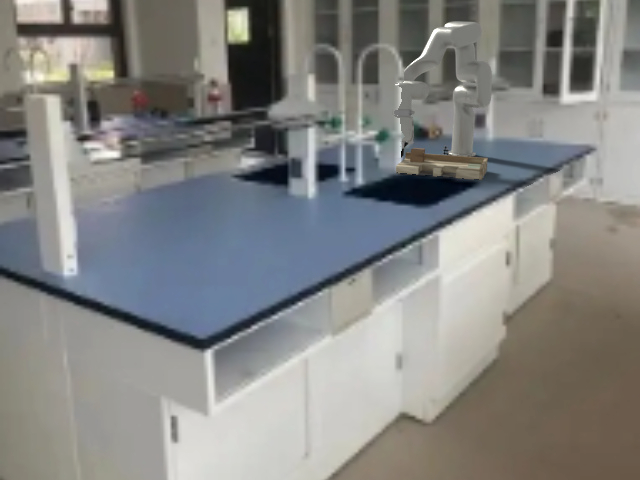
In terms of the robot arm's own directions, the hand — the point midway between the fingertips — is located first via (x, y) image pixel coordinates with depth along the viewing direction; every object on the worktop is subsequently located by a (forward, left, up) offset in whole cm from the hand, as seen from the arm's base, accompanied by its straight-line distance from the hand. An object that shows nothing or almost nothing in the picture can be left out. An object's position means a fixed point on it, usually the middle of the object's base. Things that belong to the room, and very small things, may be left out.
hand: (399, 157), depth 294 cm
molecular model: (-15, +23, -4) cm, 28 cm away
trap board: (+4, +18, -4) cm, 19 cm away
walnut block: (0, +7, -1) cm, 8 cm away
